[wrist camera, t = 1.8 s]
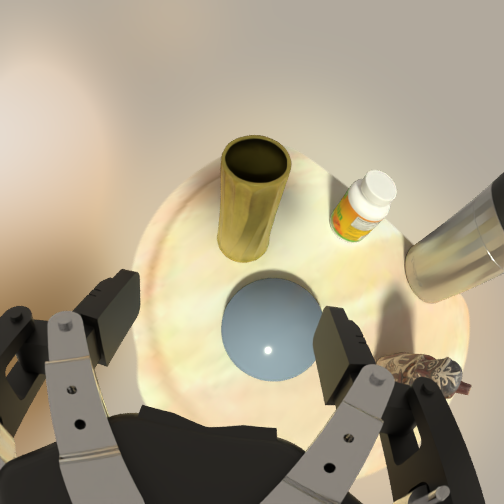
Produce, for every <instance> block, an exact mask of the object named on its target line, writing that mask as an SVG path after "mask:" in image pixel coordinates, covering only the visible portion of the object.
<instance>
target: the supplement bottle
mask: <svg viewBox="0 0 504 504" xmlns="http://www.w3.org/2000/svg"><path fill="white" fill-rule="evenodd" d="M396 194H397V188H396V185H395V183H394V182H393V180H392V179H391V178H390V177H389V176H388V175H387V174H385V173H384V172H382V171H379V170H372V171H369V172H368V173H367V174H366V175H365V177H364V178H363V179H359V180H357V181H355V182H354V183H353V184H352V185H351V186H350V188H349V189H348V191H347V192H346V194H345V195H344V197H343V198H342V199H341V201H340V202H339V204H338V205H337V207H336V208H335V209H334V211H333V212H332V214H331V217H330V225H331V228H332V230H333V232H334V234H335V235H336V236H337V237H338V238H339V239H341V240H342V241H345V242H347V243H356V242H359V241H361V240H362V239H363V238H364V237H365V236H366V235H368V234H369V233H370V232H371V231H372V230H373V229H374V228H375V227H376V226H377V225H378V224H379V223H380V222H381V221H382V220H383V219H384V218H385V217H386V216H387V214H388V213H389V210H390V203H391V202H392V200H394V198H395V197H396Z"/></svg>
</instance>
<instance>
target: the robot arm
mask: <svg viewBox="0 0 504 504" xmlns="http://www.w3.org/2000/svg"><path fill="white" fill-rule="evenodd" d="M405 270H406V275H407V279H408V282H409V284H410V286H411V288H412V290H413V291H414V293H415V294H416V295H417V296H418V297H419V298H420V299H421V300H423V301H425V302H427V303H437V302H440V301H442V300H445V299H447V298H450V297H452V296H455V295H457V294H460V293H462V292H465V291H467V290H469V289H471V288H474V287H476V286H478V285H480V284H483V283H485V282H487V281H489V280H491V279H493V278H495V277H498V276H500V275H501V274H503V273H504V173H503V174H501V175H500V176H499V177H498V178H497V179H496V180H495V181H494V182H493V183H491V184H490V185H489V186H488V187H487V188H486V189H485V190H483V191H482V192H481V193H480V194H479V195H478V196H477V197H475V198H474V199H473V200H472V201H471V202H470V203H468V204H467V205H466V206H465V207H464V208H462V209H461V210H460V211H459V212H458V213H456V214H455V215H454V216H452V217H451V218H450V219H448V220H447V221H446V222H445V223H443V224H442V225H441V226H440V227H438V228H437V229H436V230H435V231H433V232H432V233H430V234H429V235H427V236H426V237H425V238H423V239H422V240H421V241H419V242H418V243H417V244H415V245H414V246H413V247H411V248H410V250H409V251H408V254H407V256H406V262H405ZM139 310H140V276H139V273H138V272H134V271H129V270H125V269H121V270H120V271H119V272H118V273H117V274H116V275H115V276H114V277H113V278H108V279H105V280H103V281H101V282H100V283H99V284H98V285H97V286H96V287H95V288H94V290H92V291H91V292H90V293H89V295H87V296H86V297H85V298H84V299H83V301H81V302H80V304H79V305H78V306H77V307H76V308H75V309H74V310H73V311H72V312H71V311H63V312H59V313H56V314H55V315H53V316H52V317H51V318H50V319H49V321H43V320H34V319H33V317H32V313H31V311H30V309H29V308H27V307H24V306H16V307H13V308H10V309H9V310H7V311H6V312H5V313H4V314H3V315H2V316H1V317H0V504H362V503H361V502H360V501H359V500H358V499H356V498H355V497H354V496H353V495H352V494H350V493H349V492H348V491H349V489H350V487H351V485H352V484H353V482H354V481H355V479H356V477H357V475H358V474H359V472H360V470H361V468H362V466H363V465H364V463H365V461H366V459H367V457H368V455H369V453H370V451H371V449H372V447H373V445H374V443H375V441H376V439H377V437H378V434H380V438H381V443H382V447H383V451H384V456H385V460H386V465H387V469H388V475H389V479H390V485H391V490H392V495H393V501H394V503H393V504H485V500H484V497H483V494H482V490H481V487H480V484H479V481H478V477H477V475H476V471H475V469H474V466H473V463H472V461H471V457H470V455H469V452H468V450H467V447H466V444H465V442H464V440H463V437H462V435H461V432H460V430H459V427H458V425H457V423H456V421H455V418H454V416H453V414H452V412H451V410H450V407H449V405H448V403H447V401H446V399H445V397H444V395H443V393H442V391H441V389H440V387H439V386H438V384H437V383H436V382H435V381H433V380H432V379H430V378H427V377H418V378H416V379H415V380H414V381H413V383H412V384H411V385H407V384H402V383H398V382H395V380H394V377H393V375H392V374H391V373H390V372H389V371H388V370H387V369H386V368H384V367H382V366H379V365H376V362H375V360H374V358H373V356H372V354H371V351H370V349H369V347H368V345H367V344H366V340H365V338H363V334H362V332H361V330H360V328H359V327H358V326H357V325H356V324H355V323H354V322H353V321H352V320H348V317H347V315H346V313H345V311H344V309H343V308H338V307H331V306H326V307H325V308H324V310H323V312H322V315H321V318H320V320H319V323H318V326H317V328H316V331H315V333H314V337H313V351H314V355H315V360H316V364H317V369H318V373H319V378H320V382H321V387H322V392H323V397H324V402H325V405H335V406H336V411H335V412H334V413H333V415H332V416H331V418H330V419H329V421H328V422H327V423H326V425H325V426H324V428H323V429H322V430H321V432H320V433H319V434H318V436H317V437H316V438H315V440H314V441H313V442H312V444H311V445H310V446H309V447H308V449H307V450H306V451H304V450H303V449H302V448H300V447H298V446H297V445H295V444H293V443H291V442H289V441H287V440H284V439H281V438H278V437H277V428H266V427H255V426H246V425H241V426H227V427H205V426H202V425H200V424H197V423H195V422H193V421H190V420H188V419H186V418H184V417H181V416H179V415H177V414H175V413H171V412H167V411H163V410H159V409H155V408H152V407H148V406H145V405H142V407H141V409H140V412H139V413H125V414H118V415H114V416H111V417H110V416H109V414H108V411H107V408H106V406H105V402H104V399H103V396H102V393H101V390H100V387H99V383H98V380H97V376H96V372H95V367H96V365H97V364H101V365H104V366H108V365H109V363H110V361H111V359H112V358H113V356H114V354H115V353H116V351H117V349H118V347H119V346H120V344H121V342H122V341H123V339H124V337H125V336H126V334H127V332H128V331H129V329H130V328H131V326H132V324H133V323H134V321H135V319H136V318H137V316H138V314H139ZM15 354H16V356H17V358H18V361H17V362H16V364H15V365H14V367H13V368H12V369H11V371H10V372H9V374H8V375H7V377H6V376H5V371H6V367H7V365H8V364H9V362H10V361H11V360H12V358H13V357H14V356H15ZM45 379H46V383H47V391H48V399H49V406H50V411H51V417H52V423H53V427H54V432H55V436H56V442H54V443H52V444H49V445H47V446H45V447H42V448H40V449H37V450H35V451H32V452H30V453H27V454H25V455H22V456H20V457H17V455H16V452H15V442H14V439H13V438H14V436H15V434H16V431H17V429H18V427H19V426H20V424H21V422H22V419H23V418H24V416H25V414H26V412H27V410H28V408H29V406H30V405H31V403H32V401H33V399H34V398H35V396H36V394H37V392H38V391H39V389H40V387H41V385H42V384H43V382H44V380H45ZM416 426H417V427H418V430H419V433H420V436H421V446H420V448H419V447H418V444H417V440H416V437H415V434H414V431H413V429H414V428H415V427H416Z"/></svg>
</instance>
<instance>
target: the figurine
mask: <svg viewBox="0 0 504 504" xmlns="http://www.w3.org/2000/svg"><path fill="white" fill-rule="evenodd" d="M376 365H379V366H382V367H384V368H386V369H387V370H388V371H389V372H390V373H391V374H392V375H393V377H394V380H395V382H398V383H402V384H407V385H411V384H412V383H413V381H414V380H415V379H416V378H418V377H427V378H430V379H432V380H433V381H435V382H436V383H437V384H438V386H439V387H440V389H441V391H442V393H443V395H444V397H445V399H448V398H451V397H452V396H453V395H454V394H455V393H460V394H465V395H468V394H469V391H470V389H471V387H472V386H471V385H470V384H467V383H464V382H462V381H461V379H462V369H461V367H460V366H459V364H458V363H457V362H455V361H452V360H451V359H450V358H449V357H446V358H444V359H437V360H436V359H435V358H433V357H432V356H430V355H424V354H409V353H406V352H403V353H399V354H395V355H390V356H384V357H382V358H380V359H379V360H378V361H377V363H376Z"/></svg>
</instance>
